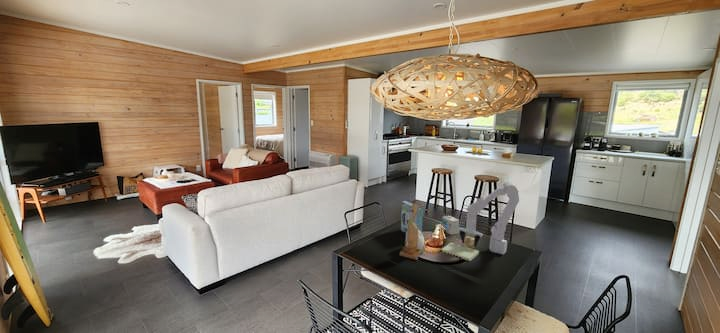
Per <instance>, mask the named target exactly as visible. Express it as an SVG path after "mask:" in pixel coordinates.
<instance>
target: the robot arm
mask: <svg viewBox="0 0 720 333" xmlns="http://www.w3.org/2000/svg"><path fill="white" fill-rule="evenodd" d="M506 195H507V196H506ZM499 196H506V197H507V198H508V201H507V202H506V205H505V207H504V209H503V211H502V213H501V215H500V217H499V219H498V220H497V222H495V224H494V225H493V226H491V228H490V232H491V235H490V239H489V240H490V241H489V251H490V252H492V253H496V254H500V255H505V254H506V252H507V248H508V241H507V240H506V239H504V238H505V232H506V229H507V228H506V227H507V225H508V223H509V221H510V219H511V218H512V216H513V213H514V212H515V209H516V208H517V206H518V204H519V202H520V197H519V190H518V188H517V186H515V185H514V184H513V183H512V182H510V181H507V182H504V183H503V184H501V185H499V186H498V187H496V189H495V190H493V191H492V192H491V193H490V194H488V195H486V197H481V198H479V197H478V199H477V200H476V201H475V202H474V203H473V202H472V203H471V204H470V205H468V206H467V207H466V211H467V213H466V224H465V228H464V227H459V230H458V232H459V236H460V238H461V244H464V238H465V237H466V234H470V235H473V236H474V237H473V238H475V243H474V248H476V247H477V245H478V243H479V240H480V239H481V238H482V237H483V234H484V233H482V232H479V231H478V230H476V229H477V228H476V227H477V216H478V215H479V212H480V211H483V209H485V208H486V207H487V206H489V203H490V202H492V201H493V200H494V199H497V198H498V197H499Z"/></svg>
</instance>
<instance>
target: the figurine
mask: <svg viewBox="0 0 720 333" xmlns="http://www.w3.org/2000/svg"><path fill="white" fill-rule="evenodd" d="M405 242H406V246H408V242H407V233H405ZM424 245H425V237H424V235H423V232H422V233H421V232H420V231H419V230H418V242H417V250H419V249H420V250H422V249H423V248H424Z"/></svg>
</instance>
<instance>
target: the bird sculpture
mask: <svg viewBox="0 0 720 333" xmlns="http://www.w3.org/2000/svg"><path fill="white" fill-rule="evenodd" d="M413 204H414V205H413V206H410V207H409V211H413V213H412V215H411V217H410V219H409V223H408V231H407V242H408V245H404V247H403V248H402V249H401V250H400V251H399V256H401V257H404V258H408V259H412V260H415V261H418V260H419V256H420V254H422V253H423V251H424V250H423V249H419V250H417V242H418V227H417V225H416V224H415V223H414V219H415V216H416V214H417V211H418V209H419V207H420V205H419V204H418V202H415V203H413ZM407 242H406V243H407Z"/></svg>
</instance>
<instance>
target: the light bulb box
mask: <svg viewBox="0 0 720 333" xmlns="http://www.w3.org/2000/svg"><path fill="white" fill-rule="evenodd" d="M442 226H443V227H444V228H445V229H446V231H445V233H447V234H449V235H458V234H459V228H460V219H458V218H456V217H454V216H452V215H444V216H442V218H441V227H442Z"/></svg>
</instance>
